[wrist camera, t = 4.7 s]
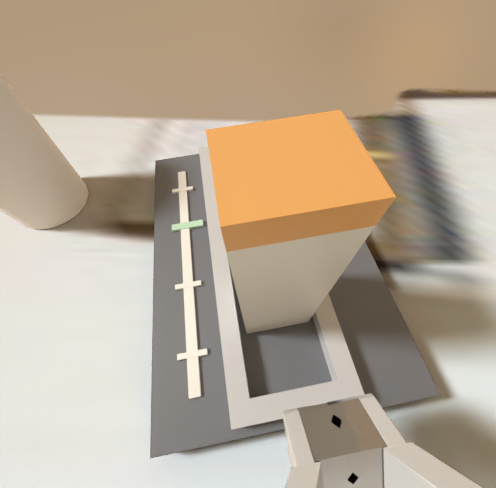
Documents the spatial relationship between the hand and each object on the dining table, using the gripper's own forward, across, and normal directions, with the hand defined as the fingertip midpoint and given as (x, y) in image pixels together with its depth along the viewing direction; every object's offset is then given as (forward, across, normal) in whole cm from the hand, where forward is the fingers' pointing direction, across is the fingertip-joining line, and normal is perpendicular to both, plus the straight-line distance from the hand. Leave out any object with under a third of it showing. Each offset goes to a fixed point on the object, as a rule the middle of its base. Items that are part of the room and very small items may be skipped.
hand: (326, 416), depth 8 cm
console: (+11, +1, -2) cm, 11 cm away
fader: (+7, +1, -1) cm, 7 cm away
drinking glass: (+17, +17, -8) cm, 25 cm away
